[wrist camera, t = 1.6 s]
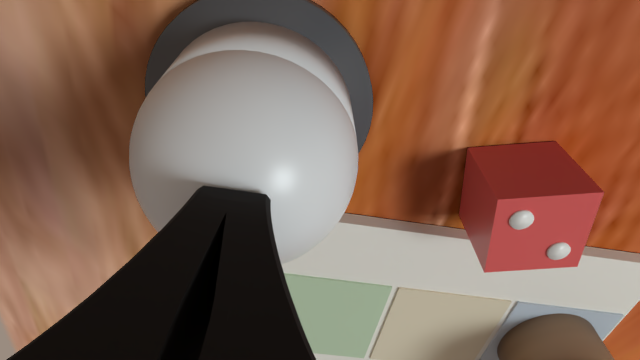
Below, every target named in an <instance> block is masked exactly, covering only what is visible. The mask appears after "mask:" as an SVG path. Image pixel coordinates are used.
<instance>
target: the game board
mask: <svg viewBox="0 0 640 360" xmlns="http://www.w3.org/2000/svg"><path fill="white" fill-rule="evenodd" d="M281 265H282V268H283V272H284V275H285V279H286V282H287V285H288V288H289V291H290V294H291V297H292V300H293V303H294V306H295V308H296V311H297V314H298V317H299V319H300V322H301V325H302V327H303V330H304V332H305V335H306V337H307V340H308V342H309V344H310V347H311V349H312V351H313V354H314V356H315V358H316V360H499V358H498V355H497V348H498V345H499V342H500V341H501V339H502V338H503V336H504V335H505V334H506V333H507V332H508V331H510V330H511V329H512V328H514V327H515V326H517V325H518V324H520V323H522V322H524V321H527V320H529V319H532V318H535V317H538V316H542V315H548V314H558V313H563V314H572V315H577V316H580V317H582V318H584V319H586V320H587V321H589V322H590V323H591V324H592V326H593V327H594V329H595V330H596V332H597V334H598V335H599V337H600V338H601V340H602V341H603V340H604V339H605V338H606V337H607V336H608V335H609V334H610V333H611V331H612V330H613V329H614V328H615V327H616V326H617V325H618V324H619V323H620V321H621V320H622V319H623V318H624V317H625V316H626V315H627V314H628V312H629V311H630V310H631V309H632V308H633V307H634V306H635V305H636V304H637V302H638V301H639V300H640V254H639V253H631V252H624V251H617V250H610V249H602V248H595V247H588V246H585V247H584V250H583V253H582V256H581V258H580V261H579V264H578V267H565V268H550V269H534V270H518V271H502V272H486V273H484V271H483V269H482V267H481V264H480V262H479V260H478V257H477V255H476V253H475V251H474V248H473V246H472V244H471V241H470V239H469V237H468V235H467V232H466V230H464V229H457V228H450V227H443V226H435V225H428V224H421V223H414V222H406V221H399V220H392V219H385V218H377V217H370V216H363V215H356V214H348V213H344V214H343V216H342V217H341V219H340V220H339V222H338V223H337V224H336V226H335V227H334V228H333V230H332V231H331V232H330V233H329V234H328V235H327V236H326V237H325V238H324V239H323V240H322V241H321V242H320V243H319V244H317V245H316V246H315V247H314V248H312V249H311V250H310V251H308V252H307V253H305V254H303V255H302V256H300V257H298V258H296V259H294V260H292V261H290V262H287V263H284V264H281Z"/></svg>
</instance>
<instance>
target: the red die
mask: <svg viewBox="0 0 640 360" xmlns="http://www.w3.org/2000/svg"><path fill="white" fill-rule="evenodd" d="M603 194H604V192H603V190H602V189H601V188H600V187H599V186H598V185H597V184H596V183H595V182H594V181H593V180H592V179H591V178H590V177H589V176H588V175H587V174H586V173H585V171H584V170H583V169H582V168H581V167H580V166H579V165H578V164H577V163H576V162H575V161H574V160H573V159H572V158H571V157H570V156H569V155H568V154H567V152H566V151H565V150H564V149H563V148H562V147H561V146H560V145H559V144H558V143H557V142H556V141H550V142H537V143H523V144H510V145H496V146H483V147H470V148H467V156H466V164H465V171H464V179H463V187H462V195H461V203H460V210H459V216H460V219H461V221H462V223H463V225H464V228H465V230H466V232H467V235H468V237H469V239H470V241H471V244H472V246H473V248H474V251H475V253H476V255H477V257H478V260H479V262H480V264H481V267H482V269H483V271H484V273H486V272H502V271H518V270H534V269H550V268H565V267H578V264H579V261H580V258H581V256H582V253H583V250H584V247H585V244H586V242H587V239H588V236H589V233H590V230H591V228H592V225H593V222H594V219H595V217H596V214H597V211H598V208H599V205H600V203H601V200H602V197H603Z"/></svg>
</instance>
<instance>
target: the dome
mask: <svg viewBox="0 0 640 360" xmlns="http://www.w3.org/2000/svg"><path fill="white" fill-rule="evenodd" d="M129 169H130V175H131V180H132V184H133V188H134V191H135V194H136V197H137V200H138V202H139V204H140V206H141V208H142V210H143V212H144V213H145V215H146V217H147V218H148V220H149V221H150V223H151V224H152V226H153V227H154V228H155V229H156V230H157V231H158V232H159V231H160V230H161V229H162V228H163V227H164V226H165V225H166V224H167V223H168V222H169V221H170V220H171V219H172V218H173V217H174V216H175V215H176V213H177V212H178V211H179V210H180V209H181V208H182V207H183V206H184V204H185V203H186V202H187V201H188V200H189V199H190V198H191V196H192V195H193V194H194V193H195V191H196V190H197V189H199V188H200V187H202V186H203V185H204V186H211V187H218V188H225V189H232V190H239V191H247V192H254V193H261V194H266V195H267V196H268V197H269V198H270V199H271V219H272V226H273V232H274V237H275V242H276V246H277V250H278V254H279V258H280V261H281V264H284V263H287V262H290V261H292V260H294V259H296V258H298V257H300V256H302V255H303V254H305V253H307V252H308V251H310V250H311V249H312V248H314V247H315V246H316V245H317V244H319V243H320V242H321V241H322V240H323V239H324V238H325V237H326V236H327V235H328V234H329V233H330V232H331V231H332V230H333V228H334V227H335V226H336V224H337V223H338V222H339V220H340V219H341V217H342V216H343V214H344V212H345V210H346V208H347V206H348V204H349V202H350V199H351V197H352V194H353V191H354V187H355V182H356V177H357V172H358V146H357V137H356V131H355V125H354V119H353V113H352V107H351V101H350V96H349V92H348V89H347V86H346V83H345V81H344V79H343V76H342V75H341V73H340V71H339V70H338V68H337V66H336V65H335V64H334V62H333V61H332V60H331V58H330V57H329V56H328V55H327V54H326V53H325V52H324V51H323V50H322V49H321V48H320V47H319V46H317V45H316V44H315V43H313V42H312V41H311V40H309V39H308V38H306V37H304V36H303V35H301V34H299V33H297V32H295V31H293V30H290V29H288V28H285V27H283V26H279V25H275V24H271V23H263V22H238V23H231V24H227V25H223V26H220V27H217V28H214V29H212V30H210V31H208V32H206V33H204V34H202V35H201V36H199V37H198V38H196V39H195V40H193V41H192V42H191V43H190V44H189V45H188V46H187V47H186V48H185V49H184V50H183V51H182V52H181V53H180V55H179V56H178V57H177V58H176V60H175V61H174V62H173V63H172V65H171V66H170V67H169V68H168V69H167V71H166V72H165V73H164V74H163V76H162V77H161V78H160V79H159V80H158V82H157V83H156V84H155V85H154V87H153V88H152V89H151V91H150V92H149V93H148V95H147V97H146V98H145V100H144V102H143V104H142V105H141V107H140V109H139V111H138V113H137V116H136V119H135V122H134V125H133V129H132V132H131V138H130V144H129Z"/></svg>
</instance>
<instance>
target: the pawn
mask: <svg viewBox="0 0 640 360" xmlns="http://www.w3.org/2000/svg"><path fill="white" fill-rule="evenodd" d="M497 355H498V358H499V360H614V358H613V357H612V355H611V354H610V352H609V351H608V349H607V348H606V346H605V344H604V343H603V341H602V340H601V338H600V337H599V335H598V334H597V332H596V330H595V329H594V327H593V326H592V324H591V323H590V322H589V321H587V320H586V319H584V318H582V317H580V316H577V315H572V314H563V313H558V314H548V315H542V316H538V317H535V318H532V319H529V320H527V321H524V322H522V323H520V324H518V325H517V326H515V327H514V328H512V329H511V330H510V331H508V332H507V333H506V334H505V335H504V336H503V338H502V339H501V341H500V342H499V345H498V348H497Z"/></svg>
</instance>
